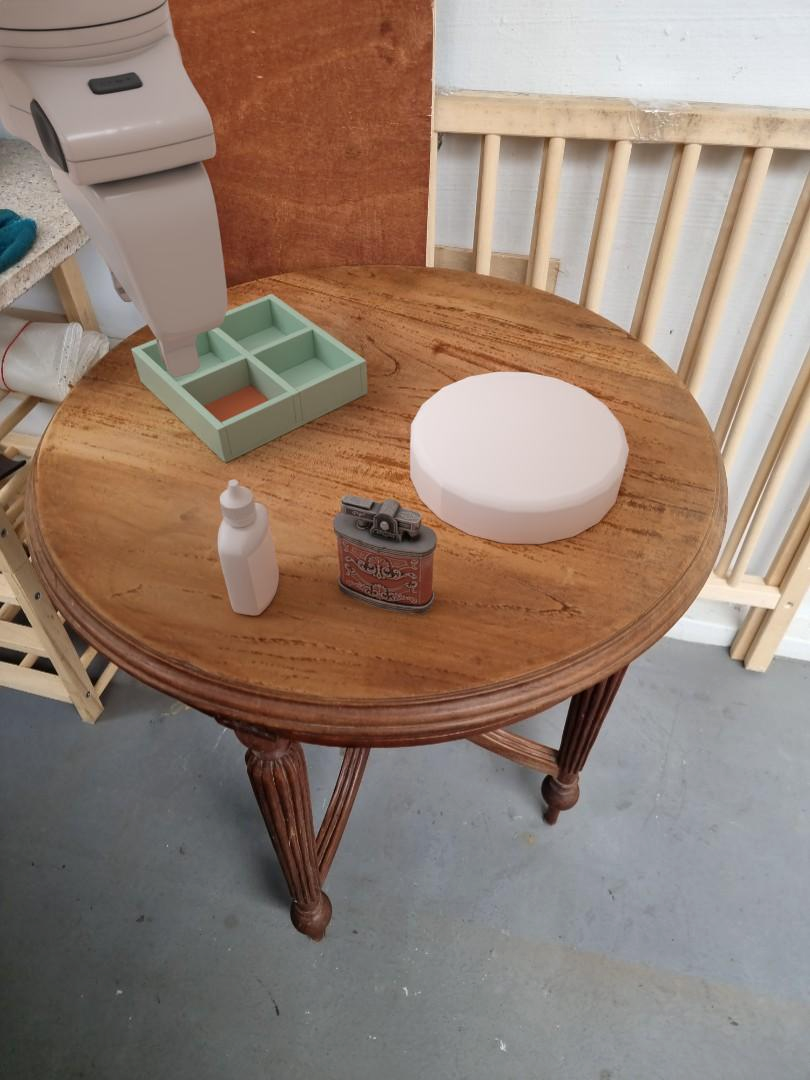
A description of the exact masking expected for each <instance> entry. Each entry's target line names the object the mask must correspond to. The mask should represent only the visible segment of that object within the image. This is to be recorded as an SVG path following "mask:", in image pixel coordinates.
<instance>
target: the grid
mask: <svg viewBox="0 0 810 1080" xmlns="http://www.w3.org/2000/svg"><path fill="white" fill-rule="evenodd" d="M156 340H158V339H157V338H155V339H153V340H150V341H148V342H145V343H142V344H140V345H138V346H135V347H131V353H132V356H133V360H134V363H135V367H136V370H137V373H138V377H139V380H140V382H141V384H143V385H144V386H145V388H147V389H148V390H149V391H150V392H151V393H152V394H153V395H154V396H155V397H156V398H157V399H158V400H159V401H160V402H161V403H162V404H163V405H165V406H166V407H167V408H168V409H169V410H170V411H171V412H172V413H173V414H174V415H175V417H176V418H178V419H179V421H181V422H182V423H183V424H184V425H185V426H186V427H187V428H188V429H189V430H190V431H191V432H192V433H193V434H194V435H195V436H197V438H198V439H200V440H201V442H203V443H204V444H205V445H206V447H208V448H209V449H210V450H211V452H213V453H215V455H216V456H217V457H218V458H219V459H220V460H221V461H222V462H223V463H224V464H227V463H229V462H231V461H233V460H235V459H237V458H239V457H241V456H243V455H245V454H248V453H250V452H251V451H253V450H255V449H258V448H259V447H261V446H263V445H265V444H268V443H269V442H272V441H273V440H275V439H278V438H279V437H282V436H283V435H286V434H288V433H290V432H293V431H294V430H296V429H298V428H300V427H302V426H304V425H307V424H308V423H310V422H312V421H314V420H316V419H319V418H320V417H323V416H325V415H328V414H329V413H331V412H333V411H335V410H336V409H339V408H341V407H343V406H345V405H347V404H349V403H352V402H353V401H355V400H357V399H359V398H361V397H363V396H365V395H367V394H368V368H367V360H366V359H365V358H364V357H362V356H360V355H359V353H356V352H355V351H353V350H352V349H350V348H349V347H348V346H346V345H345V344H344V343H342V342H341V341H340V340H338V339H336V338H335V337H334V336H333V335H331V334H329V333H328V332H326V331H325V330H324V329H323V328H321V327H319V326H318V325H317V324H315V323H314V322H313V321H311V320H309V319H308V318H307V317H306V316H304V315H303V314H301V313H299V311H297V310H296V309H294V308H293V307H291V306H290V305H289V304H287V303H285V302H284V301H283V300H281V299H280V298H279V297H277V296H276V295H274V294H273V293H270V294H267V295H266V296H263V297H260V298H258V299H255V300H252V301H249V302H247V303H244V304H242V305H240V306H237V307H233V308H231V309H229V310H227V311H226V315H225V319H224V321H223V323H222V325H221V326H219V327H218V328H215V329H213V330H209V331H206V332H203V333H200V334H197V340H196V348H197V353H198V357H199V362H200V367H199V369H198V370H197V371H196V372H193V373H190V374H187V375H184V376H180V377H173V376H172V375H171V374H170V373H169V372H168V370H167V368H166V367H165V365H164V363H163V362H162V360H161V355H160V352H159V349H158V345H157V342H156Z"/></svg>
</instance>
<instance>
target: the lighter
mask: <svg viewBox="0 0 810 1080" xmlns="http://www.w3.org/2000/svg"><path fill="white" fill-rule="evenodd" d="M339 503H340V511H339V512H337V513H336V514H335V516H334V517H333V519H332V520H333V521H332V523H333V532H334V535H335V537H336V541H337V552H338V564H339V574H338V588H339V590H340V592H341V594H343V595H345V596H347V597H349V598H351V599H354V600H356V601H357V602H360V603H362V604H365V605H368V606H371V607H374V608H377V609H380V610H384V611H389V612H395V613H400V614H401V613H402V614H409V615H424V614H426V613H428V612H429V611H431V609H432V607H433V606H434V602H435V592H434V589H433V580H434V579H433V578H434V557H435V555H434V554H435V551H436V548H437V541H438V538H437V533H436V532H435V530H434V529H432V528H431V527H429V526H427V525H424V524H423V523H422V513H421V512H420V511H416V510H413V509H409V508H406V507H405V508H404V507H403V505H401V503H400V502H399V501H397V500H396V499H392V498H386V499H385V500H384V501H382V502H379V501H375V500H374V499H370V498H366V497H361V496H358V495H354V494H345V495H343V496H342V497H341V499H340V502H339Z"/></svg>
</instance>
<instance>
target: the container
mask: <svg viewBox="0 0 810 1080" xmlns="http://www.w3.org/2000/svg"><path fill="white" fill-rule="evenodd" d="M409 440H410V443H409V478H410V480H411V482H412V485H413V487H414V489H415V491H416V494H417V496H418V498H419V500H420V501H421V502H423V504H424V505H425V506H426V507H427V508H428V509H429V510H430V511H431V512H432V513H433V514H434V515H435V516H436V517H437V518H438V519H439V520H441V521H443V522H444V523H447V524H448V525H450V526H452V527H454V528H456V529H458V530H459V531H461V532H463V533H465V534H467V535H468V536H473V537H476V538H480V539H483V540H484V539H485V540H489V541H492V542H496V543H501V544H509V545H511V544H515V545H520V544H521V545H543V544H547V543H552V542H556V541H560V540H565V539H569V538H573V537H575V536H577V535H579V534H581V533H582V532H585V531H586V530H588V529H590V528H591V527H593V526H595V525H597V524H599V523H600V522H601V521H602V519H603V518H604V517H605V516H606V515H607V514H608V512H609V511H610V510H611V509H612V508H613V506H614V505H615V504H616V502H617V499H618V495H619V491H620V488H621V484H622V480H623V477H624V474H625V469H626V466H627V462H628V458H629V453H630V448H629V443H628V440H627V437H626V433H625V429H624V427H623V425H622V424H621V422H620V421H619V420H618V418H617V417H616V415H614V413H613V412H612V411H611V409H610V408H609V407H608V406H607V404H605V403H604V402H602V401H601V400H599V399H598V398H597V397H595V396H593V394H591V393H589V392H588V391H586V390H585V389H584V388H582V387H579V386H576V385H574V384H572V383H569V382H567V381H564V380H563V379H559V378H557V377H553V376H547V375H544V374H543V375H542V374H538V373H532V372H529V371H528V372H527V371H494V372H487V373H482V374H475V375H470V376H467V377H465V378H462V379H460V380H458V381H455V382H452V383H451V384H448V385H446V386H443V387H441V389H439V390H438V391H436V393H434V394H433V395H432V396H431V397H429V398H428V399H427V400H426V401H424V402H423V403H422V404H421V406H420V407H419V409H418V411H417V413H416V414H415V416H414V419H413V420H412V422H411V424H410V439H409Z"/></svg>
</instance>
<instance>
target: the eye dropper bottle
mask: <svg viewBox="0 0 810 1080" xmlns="http://www.w3.org/2000/svg"><path fill="white" fill-rule="evenodd" d="M219 504H220V509H221V515H222V518H223V519H222V521H221V522H220V525H219V527H218V532H217V552H218V557H219V561H220V566H221V570H222V573H223V577H224V582H225V586H226V589H227V595H228V598H229V603H230V605H231V609H232V611H233V612H234V613H237V614H240V615H245V616H255V617H256V616H259V615H261V614H262V613H263V612H264V611H265V610H266V609H267V608H268V607H269V605H270V604H271V602H273V600H274V597H275V596H276V593H277V590H278V587H279V580H280V571H279V564H278V559H277V558H278V557H277V553H276V549H275V542H274V537H273V531H272V526H271V520H270V516H269V515H270V514H269V513H268V512H269V511H268V508H267V507H266V506H265V505H264V504H262V503H259V502H255V497H254V493H253V491H252V490H251V489H250V488H248V487H246V486H241V485H240V483H239V480H238V479H230V480H229V481H228V483H227V488H226V489H224V490H223V492H221V494H220V495H219Z"/></svg>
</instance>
